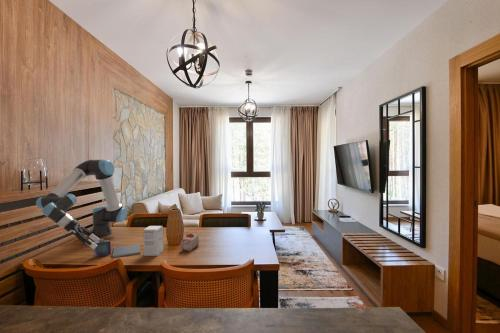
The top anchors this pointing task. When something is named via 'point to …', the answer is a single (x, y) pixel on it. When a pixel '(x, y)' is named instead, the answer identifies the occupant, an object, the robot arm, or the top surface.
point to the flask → (102, 248)
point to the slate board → (126, 250)
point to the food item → (189, 242)
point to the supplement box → (153, 240)
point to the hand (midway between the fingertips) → (97, 244)
